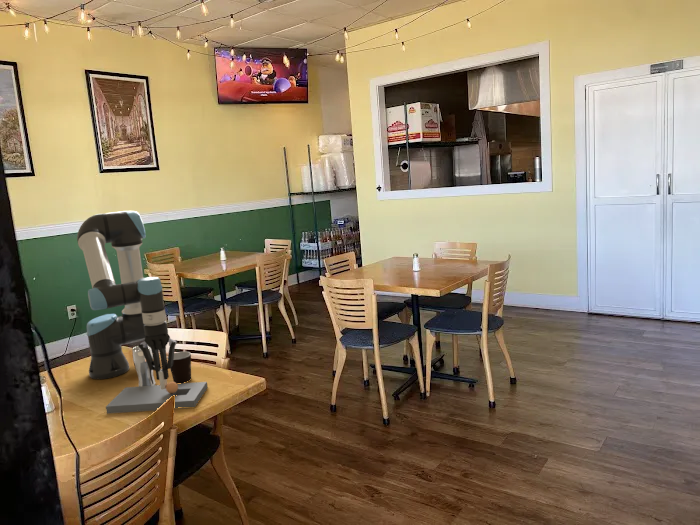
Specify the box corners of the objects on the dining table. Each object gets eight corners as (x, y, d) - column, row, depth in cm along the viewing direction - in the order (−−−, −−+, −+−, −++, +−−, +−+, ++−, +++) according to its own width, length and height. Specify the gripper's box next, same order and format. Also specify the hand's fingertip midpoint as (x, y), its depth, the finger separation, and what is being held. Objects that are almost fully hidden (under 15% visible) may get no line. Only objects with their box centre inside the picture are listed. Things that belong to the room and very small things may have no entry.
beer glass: (160, 382, 208) (155, 345, 206) (147, 389, 202) (141, 351, 199) (147, 380, 211) (141, 343, 209) (133, 388, 205) (127, 349, 202)
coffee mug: (187, 385, 204) (183, 359, 202) (166, 384, 206) (162, 359, 204) (201, 373, 215) (198, 348, 213) (181, 372, 217) (178, 348, 215)
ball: (177, 392, 193) (166, 389, 193) (180, 381, 192) (169, 378, 192) (174, 396, 189) (163, 393, 189) (177, 385, 189) (166, 382, 188)
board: (106, 413, 184) (105, 406, 184) (126, 393, 200) (125, 387, 200) (194, 407, 183) (194, 400, 183) (207, 388, 199) (206, 381, 199)
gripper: (131, 327, 183) (141, 393, 187) (169, 324, 183) (179, 391, 187) (140, 320, 190) (150, 384, 194) (177, 318, 190) (186, 382, 194)
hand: (164, 387), depth 191 cm, fingers closed
